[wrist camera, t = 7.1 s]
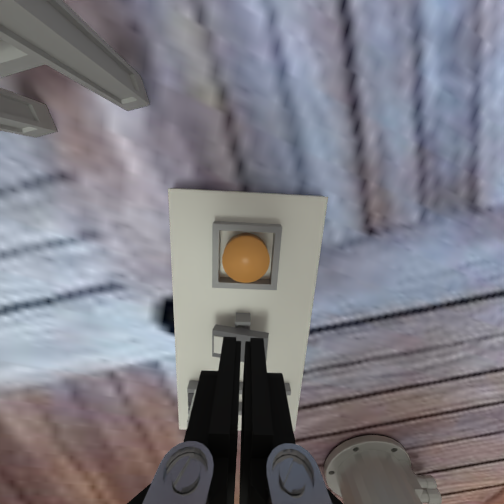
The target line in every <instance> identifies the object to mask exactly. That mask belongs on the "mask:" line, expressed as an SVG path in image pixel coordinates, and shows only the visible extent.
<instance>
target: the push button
mask: <svg viewBox="0 0 504 504" xmlns="http://www.w3.org/2000/svg"><path fill="white" fill-rule="evenodd" d="M269 263H270V258H269V253H268V250H267V247H266V244H265V243H264V241H263V240H262V239H261V238H259V237H258V236H256V235H254V234H251V233H241V234H238V235H236V236H234V237H232V238H231V239H230V240H229V241H228V243H227V244H226V247H225V249H224V253H223V256H222V264H223V268H224V270H225V272H226V273H227V275H228V276H229V277H230V278H232V279H233V280H235V281H238V282H242V283H250V282H254V281H257V280H258V279H260V278H261V277H262V276H264V274H265V273H266V272H267V270H268V267H269Z"/></svg>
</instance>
